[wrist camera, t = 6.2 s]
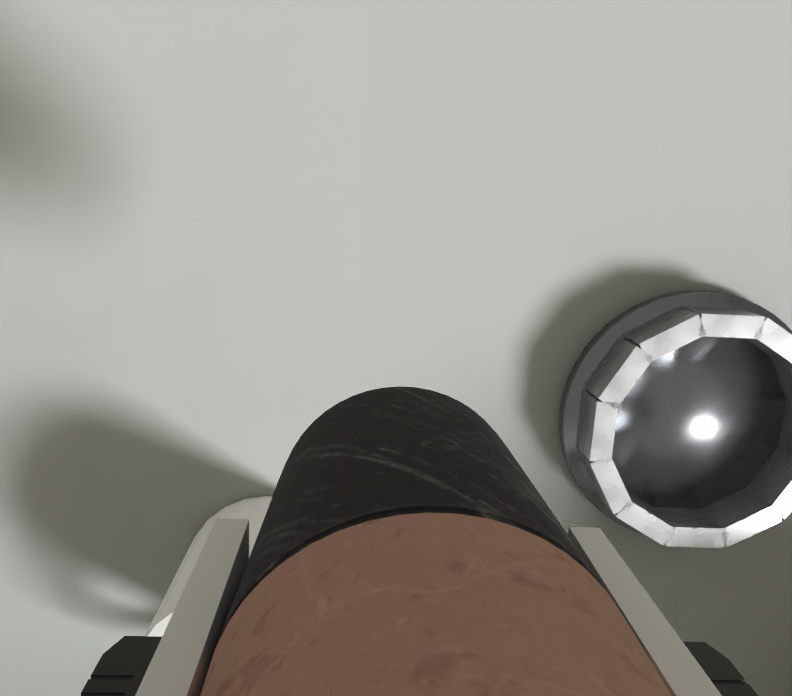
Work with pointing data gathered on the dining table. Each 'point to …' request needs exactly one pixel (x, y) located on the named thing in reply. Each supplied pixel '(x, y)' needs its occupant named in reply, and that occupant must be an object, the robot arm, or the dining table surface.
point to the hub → (685, 419)
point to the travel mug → (418, 571)
